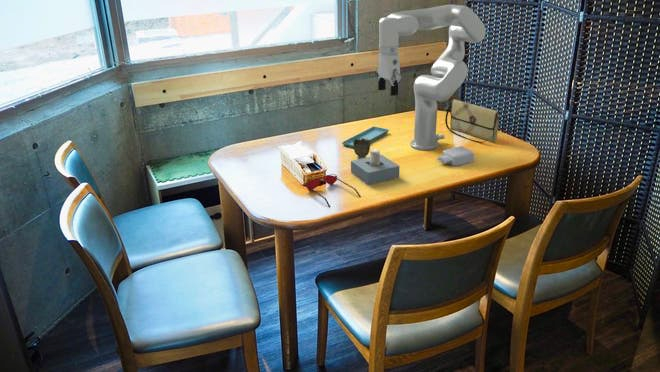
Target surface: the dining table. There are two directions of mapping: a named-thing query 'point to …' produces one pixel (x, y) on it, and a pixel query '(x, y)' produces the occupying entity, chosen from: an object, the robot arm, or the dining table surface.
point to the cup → (361, 147)
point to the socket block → (375, 170)
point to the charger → (456, 156)
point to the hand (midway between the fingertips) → (387, 92)
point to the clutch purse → (473, 120)
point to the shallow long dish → (367, 135)
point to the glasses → (327, 179)
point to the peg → (374, 158)
